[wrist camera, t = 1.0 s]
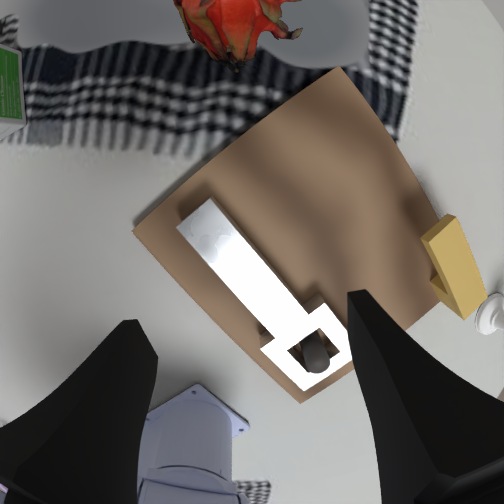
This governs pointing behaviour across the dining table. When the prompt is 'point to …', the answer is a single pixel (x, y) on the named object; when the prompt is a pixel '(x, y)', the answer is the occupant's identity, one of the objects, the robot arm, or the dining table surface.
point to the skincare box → (11, 92)
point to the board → (308, 220)
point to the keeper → (454, 267)
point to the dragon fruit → (233, 26)
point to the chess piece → (491, 315)
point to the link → (265, 293)
